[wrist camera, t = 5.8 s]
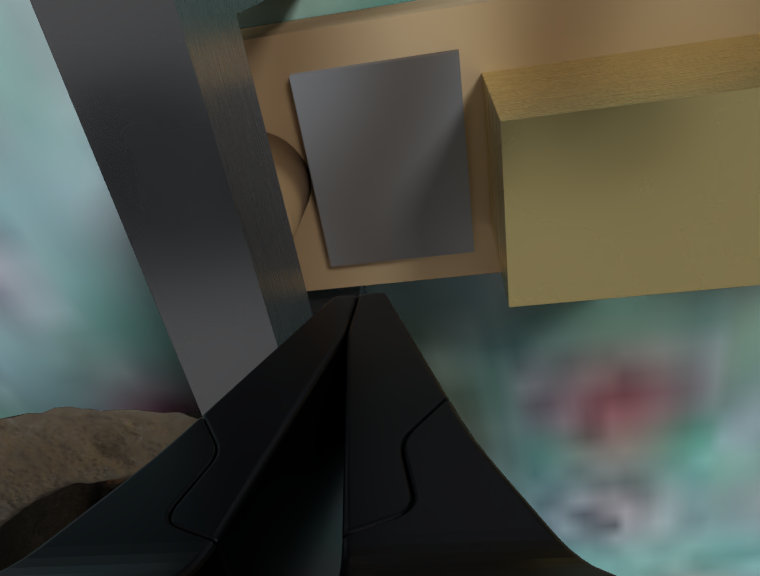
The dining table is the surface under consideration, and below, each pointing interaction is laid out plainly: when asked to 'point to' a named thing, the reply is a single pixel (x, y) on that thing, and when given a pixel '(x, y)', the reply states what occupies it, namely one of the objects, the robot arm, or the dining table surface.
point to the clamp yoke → (188, 174)
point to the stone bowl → (70, 466)
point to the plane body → (424, 118)
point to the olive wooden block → (626, 172)
